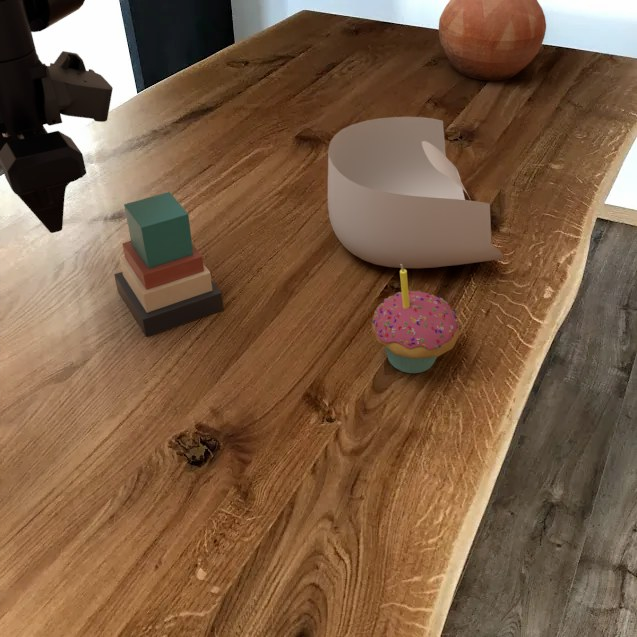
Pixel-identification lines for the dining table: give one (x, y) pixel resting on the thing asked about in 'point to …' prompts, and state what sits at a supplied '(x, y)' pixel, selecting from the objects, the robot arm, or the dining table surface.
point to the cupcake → (414, 328)
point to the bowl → (403, 197)
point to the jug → (491, 36)
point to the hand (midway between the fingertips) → (43, 208)
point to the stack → (166, 290)
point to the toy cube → (159, 229)
